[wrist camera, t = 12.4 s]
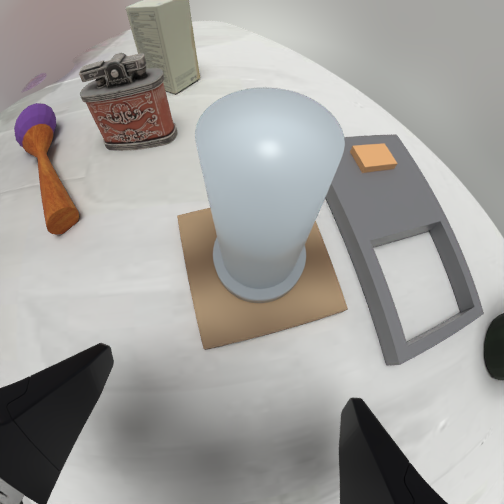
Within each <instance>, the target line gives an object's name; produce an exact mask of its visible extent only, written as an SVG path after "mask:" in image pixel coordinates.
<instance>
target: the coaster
mask: <svg viewBox="0 0 504 504" xmlns="http://www.w3.org/2000/svg"><path fill="white" fill-rule="evenodd" d="M177 217H178V223H179V230H180V236H181V242H182V247H183V253H184V259H185V264H186V269H187V275H188V280H189V285H190V290H191V295H192V300H193V304H194V309H195V314H196V318H197V323H198V327H199V331H200V336H201V340H202V344H203V348H204V349H205V350H206V349H210V348H215V347H219V346H223V345H228V344H232V343H236V342H240V341H244V340H248V339H252V338H256V337H260V336H263V335H267V334H271V333H275V332H278V331H282V330H285V329H289V328H292V327H295V326H299V325H302V324H306V323H309V322H312V321H315V320H318V319H322V318H325V317H328V316H331V315H334V314H337V313H340V312H343V311H345V310H347V309H348V308H347V305H346V302H345V299H344V296H343V293H342V290H341V288H340V285H339V282H338V279H337V276H336V273H335V271H334V268H333V265H332V262H331V260H330V257H329V254H328V252H327V249H326V246H325V244H324V241H323V239H322V236H321V233H320V231H319V228H318V226H317V223H316V221H315V222H314V225H313V227H312V229H311V232H310V234H309V236H308V238H307V241H306V243H305V249H306V262H305V267H304V269H303V272H302V274H301V276H300V278H299V279H298V281H297V283H296V284H295V286H294V287H293V288H292V289H291V290H290V291H289V292H288V293H287V294H286V295H285V296H283V297H281V298H279V299H277V300H275V301H272V302H268V303H251V302H247V301H244V300H241V299H239V298H237V297H235V296H234V295H232V294H231V293H230V292H229V291H228V290H227V289H226V288H225V287H224V286H223V284H222V283H221V281H220V279H219V277H218V274H217V271H216V268H215V266H214V261H213V248H214V243H215V241H216V238H217V234H216V230H215V225H214V221H213V217H212V213H211V208H207V209H203V210H199V211H195V212H190V213H186V214H182V215H178V216H177Z"/></svg>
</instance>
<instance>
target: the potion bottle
mask: <svg viewBox="0 0 504 504" xmlns="http://www.w3.org/2000/svg"><path fill="white" fill-rule="evenodd" d="M485 360H486V365H487V368H488V370H489V372H490V373H491V375H492V377H494V378H496V379H498V380H504V313H503V314H501V315H499V316H498V317H497V318H496V319H494V320H493V322H492V324H491V326H490V328H489V330H488V332H487V336H486V341H485Z"/></svg>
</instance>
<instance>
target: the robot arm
mask: <svg viewBox="0 0 504 504" xmlns="http://www.w3.org/2000/svg"><path fill="white" fill-rule="evenodd" d="M113 363H114V360H113V356H112V351H111V348H110V346H108V345H106V344H103V343H99V344H97V345H95V346H93V347H90V348H88V349H86V350H84V351H82V352H80V353H78V354H76V355H74V356H72V357H70V358H67V359H65V360H63V361H61V362H59V363H57V364H55V365H53V366H51V367H48V368H46V369H44V370H42V371H40V372H38V373H36V374H33V375H31V376H30V377H27V378H25V379H23V380H20V381H18V382H16V383H13V384H10V385H8V386H5V387H2V388H0V504H23V502H22V499H23V497H24V495H25V496H26V497H28V498H30V499H31V500H33V501H34V502H36V503H38V504H47V501H48V499H49V497H50V495H51V492H52V490H53V488H54V486H55V484H56V481H57V479H58V477H59V475H60V473H61V470H62V468H63V466H64V464H65V462H66V460H67V458H68V456H69V454H70V452H71V450H72V448H73V446H74V444H75V442H76V440H77V438H78V436H79V434H80V433H81V431H82V429H83V427H84V425H85V423H86V421H87V419H88V417H89V416H90V414H91V412H92V410H93V408H94V406H95V405H96V403H97V401H98V399H99V397H100V395H101V393H102V391H103V388H104V386H105V383H106V381H107V379H108V376H109V374H110V372H111V369H112V367H113ZM339 469H340V504H448V503H447V502H445V501H444V500H443V499H442V498H441V497H440V496H439V495H438V494H437V493H436V492H435V491H434V490H433V489H432V488H431V487H430V486H429V484H428V483H427V482H426V481H425V480H424V479H423V478H422V477H421V476H420V474H419V473H418V472H417V471H416V469H415V468H414V467H413V465H412V464H411V463H409V460H408V459H407V458H406V456H405V455H404V454H403V452H402V451H401V450H400V448H399V447H398V446H397V444H396V443H395V442H394V440H393V439H392V438H391V437H390V435H389V434H388V433H387V431H386V430H385V429H384V427H383V426H382V425H381V423H380V422H379V421H378V419H377V418H376V417H375V415H374V414H373V413H372V411H371V410H370V409H369V407H368V406H367V405H366V403H365V402H364V401H363V400H362V399H361V398H350V399H349V401H348V402H347V404H346V405H345V407H344V408H343V410H342V413H341V424H340V439H339Z"/></svg>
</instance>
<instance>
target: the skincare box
mask: <svg viewBox="0 0 504 504" xmlns="http://www.w3.org/2000/svg"><path fill="white" fill-rule="evenodd" d="M126 11H127V15H128V18H129V22H130V26H131V30H132V33H133V37H134V40H135V44H136V47H137V51H138V54H142V53H143V54H144V55H145V59H146V69H150V68H160V69H162V71H163V74H164V82H163V83H164V88H165V90H166V91H168V92H171V93H174V94H176V93H178V92H179V91H181V90H182V89H184V88H186V87H187V86H189V85H190V84H192V83H193V82H195V81H196V80H198V79H200V74H199V68H198V61H197V55H196V48H195V41H194V34H193V27H192V21H191V13H190V6H189V0H142V1H140V2H137V3H135V4H133V5H130V6H128V7H126Z"/></svg>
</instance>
